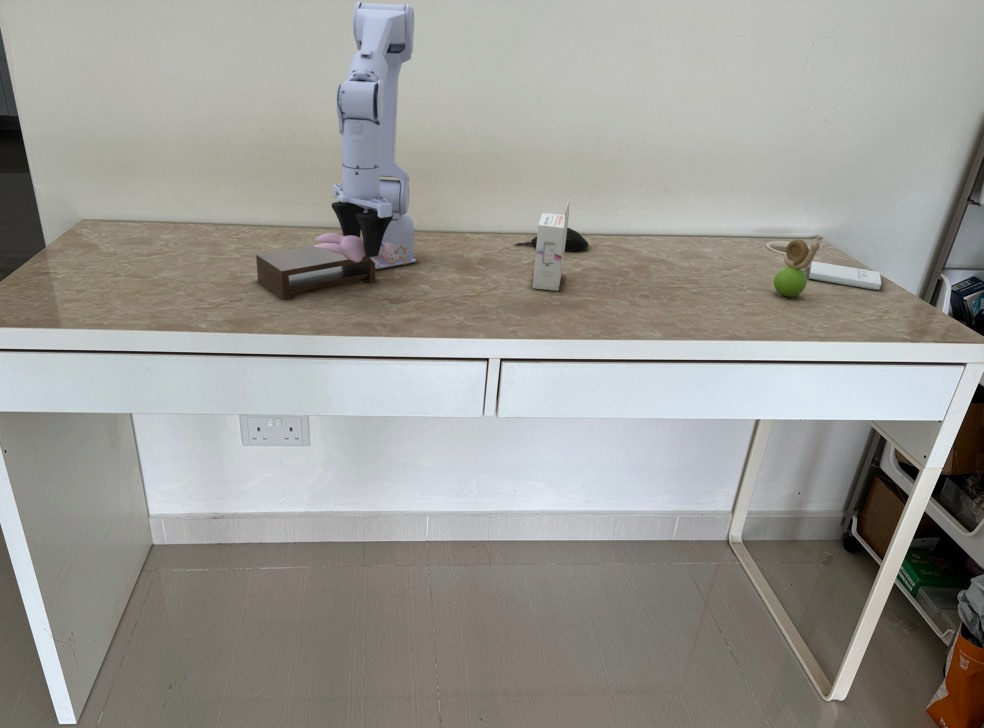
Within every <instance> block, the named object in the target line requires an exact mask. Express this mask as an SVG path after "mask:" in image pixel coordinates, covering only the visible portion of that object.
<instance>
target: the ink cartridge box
mask: <svg viewBox="0 0 984 728" xmlns="http://www.w3.org/2000/svg"><path fill="white" fill-rule="evenodd" d="M569 218H570V198H568V199H567V202H566V205H565V208H564V214H559V213H547V212H543V213H542V214H541V216H540V219H539V221H538V224H537V235H536V236H537V246H536V247H535V259H534V268H533V269H534V270H533V281H532V289H535V290H545V291H556V292H559V289H560V286H561V285H560V284H561V278H562V274H563V265H564V257H565V252H566V251H565V243H566V235H567V228H569V227H568V225H569Z"/></svg>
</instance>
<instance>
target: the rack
mask: <svg viewBox="0 0 984 728" xmlns="http://www.w3.org/2000/svg"><path fill="white" fill-rule="evenodd" d="M315 245H316V244H313V245H308V246H302V247H296V248H289V249H282V250H276V251H270V252H264V253H258V254H255V259H256V272H257V283H259V284H260V285H262V286H263V287H265V288H266V289H267V290H269V291H270V292H271V293H273V294H274V295H276V296H277V297H278V298H280V299H281V300H283V301H284V300H285V301H286V300H289V299H291V293H297V292H301V291H308V290H313V289H318V288H323V287H327V286H333V285H337V284H343V283H349V282H354V281H358V280H363V281H366V282H368V283H369V284H370V283H375V282H376V269H375V263H374V262H373V261H372V260H371V258H370V257H369V258H368V257H366V256H365V254H364V256H363V258H362V260H361V261H360V262H354V261H352V260H349V259H347V258H345V257H344V255H342V254H338V253H335V252H332V251H329V250H326V249H321V248H315V247H314V246H315Z"/></svg>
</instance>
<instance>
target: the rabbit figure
mask: <svg viewBox="0 0 984 728" xmlns="http://www.w3.org/2000/svg"><path fill="white" fill-rule="evenodd" d="M314 242H320V243H319V244H314V245H315V246H314V247H315V248H321V249H326V250H329V251H332V252H335V253H338V254H342V255H344V257H345V258H347V259H349V260H352V261H354V262H360V261H361V260H362V258H363V256H364V254H365V253H364V246H363V238H361V237H360V238H359V237H357V236H352V235H349V236H343V235H341V234H340V233H337V232H336V233H335V232H325V233H323V234H320V235H319V236H317V237H316V238H315V239H314ZM401 248H402V249H403V250H404V255H405V253H406V250H407V249H406V248H404V247H403V246H401V245H399V246H395V245H392V244H391V243H384V242H383V241H382V243H381V247H380V251H379V255H378V256H375V257H370V258H371V260H372V261H373V262H374V263H376V264H377V265H380V262H378V261H377V260H376V259H375V258H380V259H382V260H383V261H385V262H386V263H388V264H391V265H392V264H395V263H396V262H397V261H398V260H399V259H400V258H402V259H403V260H404V263H405V264H403V265H404V266H406V265H407V264H406V261H407V259H406V258H407V257H406V258H404V257H402V256H401V255H400V256H398V255H397V253H398V251H399V250H400V249H401Z"/></svg>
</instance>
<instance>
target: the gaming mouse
mask: <svg viewBox="0 0 984 728" xmlns="http://www.w3.org/2000/svg"><path fill="white" fill-rule="evenodd" d="M522 245H523V246H524V245H525V246H531V245H532V246H533V247H535V248H536V246H537V235H536V236H535V237H534V238H532V239H531V240H530V241H526V242H517V246H522ZM589 245H590V244H589V242H588V241H587V240H586V239H585V238H584V237H583V236H582V235H581V234H580V233H579V232H578V231H577V230H574V229H572V228H570V227H567V235H566V243H565V251H564V252H577V251H582V250H583V249H586V248H588V247H589Z"/></svg>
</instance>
